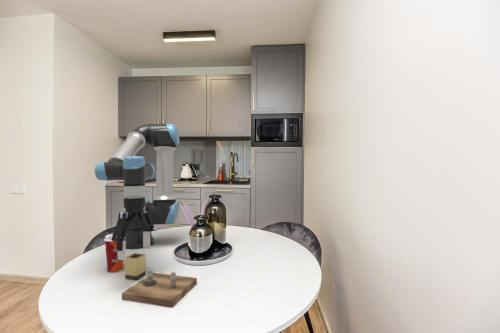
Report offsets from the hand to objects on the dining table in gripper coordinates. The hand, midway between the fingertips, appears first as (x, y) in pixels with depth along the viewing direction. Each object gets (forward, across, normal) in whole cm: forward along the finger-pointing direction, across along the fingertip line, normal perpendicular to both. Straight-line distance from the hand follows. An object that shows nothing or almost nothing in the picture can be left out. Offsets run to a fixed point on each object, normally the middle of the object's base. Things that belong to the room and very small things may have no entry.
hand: (135, 253), depth 99 cm
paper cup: (+9, -4, -13) cm, 17 cm away
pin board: (+9, +6, +16) cm, 20 cm away
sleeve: (+9, 0, 0) cm, 9 cm away
